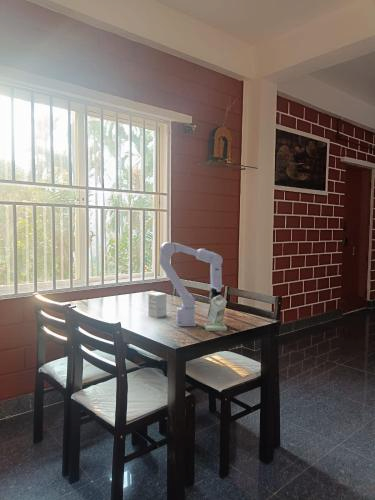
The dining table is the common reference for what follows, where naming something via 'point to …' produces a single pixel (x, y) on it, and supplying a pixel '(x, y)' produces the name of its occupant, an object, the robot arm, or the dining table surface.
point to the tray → (215, 326)
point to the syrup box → (216, 309)
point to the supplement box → (157, 304)
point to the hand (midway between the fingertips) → (216, 303)
